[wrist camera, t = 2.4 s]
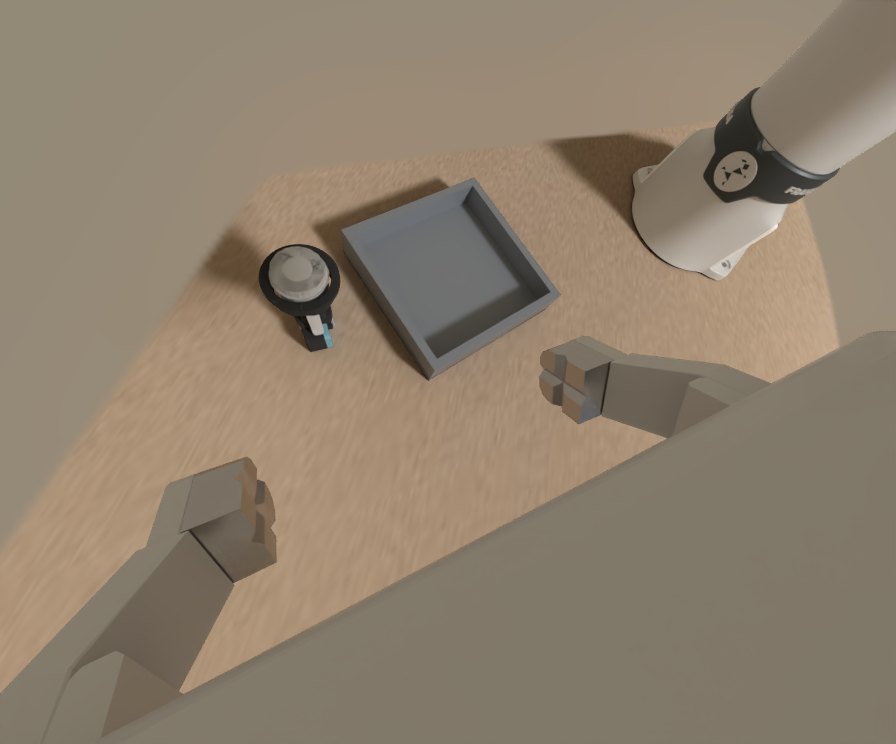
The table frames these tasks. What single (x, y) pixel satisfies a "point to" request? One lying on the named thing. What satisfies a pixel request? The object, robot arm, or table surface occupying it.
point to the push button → (303, 289)
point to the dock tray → (448, 274)
